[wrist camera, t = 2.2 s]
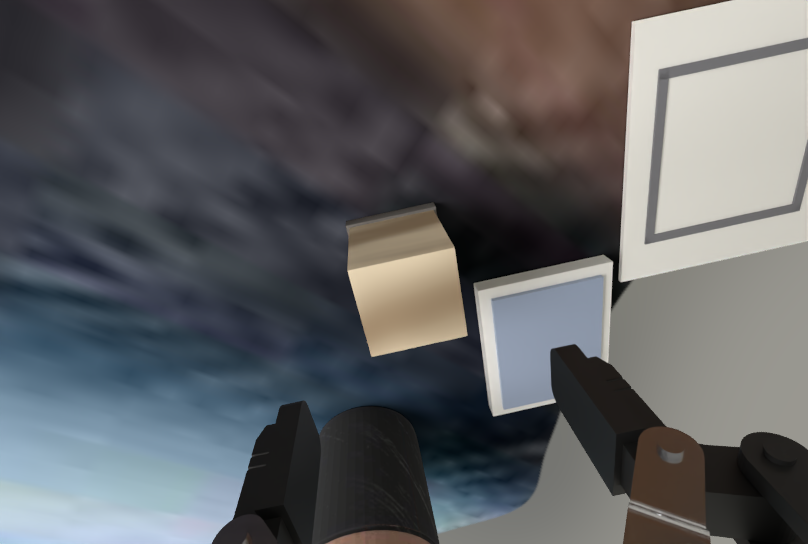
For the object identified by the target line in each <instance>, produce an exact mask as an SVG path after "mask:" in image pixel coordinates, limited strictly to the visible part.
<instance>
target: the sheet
mask: <svg viewBox="0 0 808 544" xmlns="http://www.w3.org/2000/svg"><path fill="white" fill-rule="evenodd" d="M807 241H808V0H732V1H727V2H722V3H718V4H713V5H708V6H704V7H699V8H694V9H689V10H685V11H680V12H675V13H670V14H666V15H661V16H656V17H652V18H647V19H642V20H637V21H633V22H632V30H631V48H630V67H629V86H628V105H627V124H626V143H625V162H624V181H623V200H622V218H621V237H620V256H619V275H618V280H619V281H620V282H625V281H629V280H634V279H638V278H643V277H647V276H652V275H657V274H661V273H666V272H670V271H675V270H679V269H684V268H688V267H693V266H698V265H702V264H707V263H711V262H716V261H720V260H725V259H729V258H734V257H739V256H743V255H748V254H752V253H757V252H761V251H766V250H770V249H775V248H780V247H784V246H789V245H793V244H798V243H802V242H807Z"/></svg>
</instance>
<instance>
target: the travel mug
mask: <svg viewBox="0 0 808 544" xmlns="http://www.w3.org/2000/svg"><path fill="white" fill-rule="evenodd" d="M319 437H320V443H321V460H320V470H319V479H318V489H317V499H316V508H315V518H314V527H313V537H312V544H439V540H438V536H437V530H436V525H435V520H434V516H433V511H432V506H431V501H430V496H429V492H428V487H427V482H426V477H425V473H424V468H423V463H422V458H421V453H420V449H419V445H418V440H417V436H416V433H415V430H414V428H413V426H412V425H411V423H410V422H409V421H408V420H407V419H406V418H405V417H404V416H402V415H401V414H399V413H397V412H396V411H393V410H390V409H387V408H383V407H376V406H366V407H358V408H354V409H350V410H347V411H345V412H342V413H340V414H338V415H337V416H335V417H334V418H332V419H331V420H330V421H329V422H328V423H327V424H326V425H325V426H324V428H323V429H322V431H321V433H320V435H319Z"/></svg>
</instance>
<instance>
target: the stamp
mask: <svg viewBox="0 0 808 544" xmlns="http://www.w3.org/2000/svg"><path fill="white" fill-rule="evenodd" d="M346 229H347V233H348V236H349V246H348V270H347V271H348V274H349V278H350V282H351V285H352V289H353V292H354V296H355V299H356V303H357V306H358V310H359V314H360V317H361V321H362V324H363V328H364V331H365V335H366V338H367V342H368V346H369V349H370V353H371V356H372V357H374V356H378V355H383V354H387V353H392V352H396V351H401V350H406V349H410V348H415V347H419V346H424V345H428V344H433V343H437V342H442V341H446V340H451V339H455V338H460V337H465V336H467V329H466V322H465V315H464V309H463V302H462V295H461V288H460V281H459V274H458V267H457V260H456V253H455V247H454V245H453V244H452V242H451V240H450V238H449V237H448V235H447V233H446V231H445V230H444V228H443V226H442V224H441V223H440V221H439V219H438V217H437V212H436V206H435V205H434V203H429V204H424V205H419V206H415V207H410V208H405V209H401V210H396V211H392V212H387V213H382V214H378V215H373V216H368V217H364V218H359V219H355V220H350V221H346Z"/></svg>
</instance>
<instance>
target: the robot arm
mask: <svg viewBox="0 0 808 544" xmlns="http://www.w3.org/2000/svg"><path fill="white" fill-rule="evenodd" d="M550 365H551V387H552V392H553V396H554V398H555V401H556V403H557V405H558V407H559V408H560V410H561V412H562V413H563V415H564V417H565V418H566V420H567V422H568V423H569V425H570V426H571V428H572V430H573V431H574V433H575V435H576V436H577V438H578V440H579V441H580V443H581V444H582V446H583V448H584V449H585V451H586V453H587V454H588V456H589V458H590V459H591V461H592V463H593V464H594V466H595V467H596V469H597V471H598V472H599V474H600V476H601V477H602V479H603V481H604V482H605V484H606V486H607V487H608V489H609V490H610V492H611V494H612V495H613V496H615V495H620V494H624V493H627V495H628V496H629V498H630V503H629V505H628V513H627V519H626V527H625V533H624V541H623V544H711V543H710V536H719V537H727V538H733V539H734V540H735V541H736V543H737V544H808V450H807V449H806V448H805V447H803V446H802V445H800V444H799V443H797V442H795V441H793V440H791V439H789V438H787V437H784V436H781V435H777V434H773V433H767V432H757V433H751V434H748V435H746V436H745V437H744V438H743V439H742V441H741V445H740V447H728V446H727V447H726V446H711V445H703V444H698V443H697V442H696V441H695V440H694V439H693V438H691V437H690V436H689V435H687V434H685V433H683V432H681V431H679V430H676V429H673V428H669V427H666V426H665V425H664V424H663V423H662V421H661V420H660V419H659V418H658V417H657V416H656V415H655V414H654V412H653V411H652V410H651V409H650V408H649V407H648V406H647V404H646V403H645V402H644V401H643V400H642V399H641V398H640V397H639V395H638V394H637V393H636V392H635V391H634V390H633V389H631V386H630V385H629V384H628V383H627V382H626V381H625V380H624V379H623V378H622V376H621V375H620V374H619V373H618V372H617V371H616V370H615V368H614V367H613V366H612V365H610V364H609V363H607V362H605V361H604V360H602V359H600V358H598V357H597V356H595V357H590V358H587V357H586V356H585V354H584V353H583V352H582V351H581V349H580V348H579V347H578V346H577V345H576V344H572V345H567V346H562V347H557V348H553V349H551V351H550ZM320 460H321V443H320V437H319V434H318V431H317V429H316V426H315V423H314V421H313V418H312V415H311V413H310V410H309V408H308V405H307V403H306V402H305V401H300V402H295V403H290V404H286V405H282V406H280V408H279V412H278V416H277V420H276V424H272V425H267V426H266V427H265V428H264V430H263V431H262V432H261V434H260V435H259V437H258V438H257V439H256V442H255V445H254V449H253V452H252V458H251V459H250V463H249V466H248V471H247V473H246V477H245V480H244V484H243V487H242V490H241V494H240V497H239V501H238V504H237V508H236V511H235V515H234V518H233V520H232V521H230V522H229V523H228V524H226V525H225V526H224V527H223V528H222V529H221V530H220V531H219V533H218V534H217V535H216V537H215V538H214V540H213V542H212V544H312V537H313V527H314V518H315V508H316V499H317V489H318V479H319V470H320Z"/></svg>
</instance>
